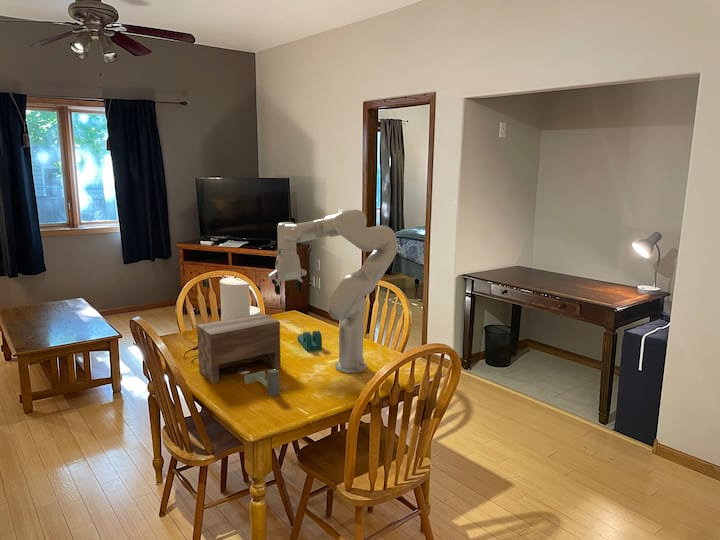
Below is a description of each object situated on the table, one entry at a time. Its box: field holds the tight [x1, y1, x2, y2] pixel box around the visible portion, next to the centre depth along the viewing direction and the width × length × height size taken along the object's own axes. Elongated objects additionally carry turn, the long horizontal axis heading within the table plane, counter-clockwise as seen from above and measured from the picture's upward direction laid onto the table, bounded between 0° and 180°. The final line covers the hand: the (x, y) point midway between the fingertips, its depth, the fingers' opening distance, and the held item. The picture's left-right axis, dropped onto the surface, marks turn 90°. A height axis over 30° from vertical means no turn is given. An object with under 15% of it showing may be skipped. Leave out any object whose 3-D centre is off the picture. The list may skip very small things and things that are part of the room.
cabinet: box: [196, 312, 282, 385], centre depth 210 cm, size 14×28×19 cm, turn 126°
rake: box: [243, 368, 281, 398], centre depth 195 cm, size 17×8×9 cm, turn 36°
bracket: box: [296, 330, 323, 353], centre depth 241 cm, size 18×7×8 cm, turn 22°
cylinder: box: [219, 276, 261, 321], centre depth 243 cm, size 17×17×28 cm
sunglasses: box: [183, 345, 199, 363], centre depth 225 cm, size 11×12×5 cm
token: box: [236, 367, 251, 376], centre depth 210 cm, size 5×5×1 cm
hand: (288, 292), depth 226 cm, fingers open, 9 cm apart
